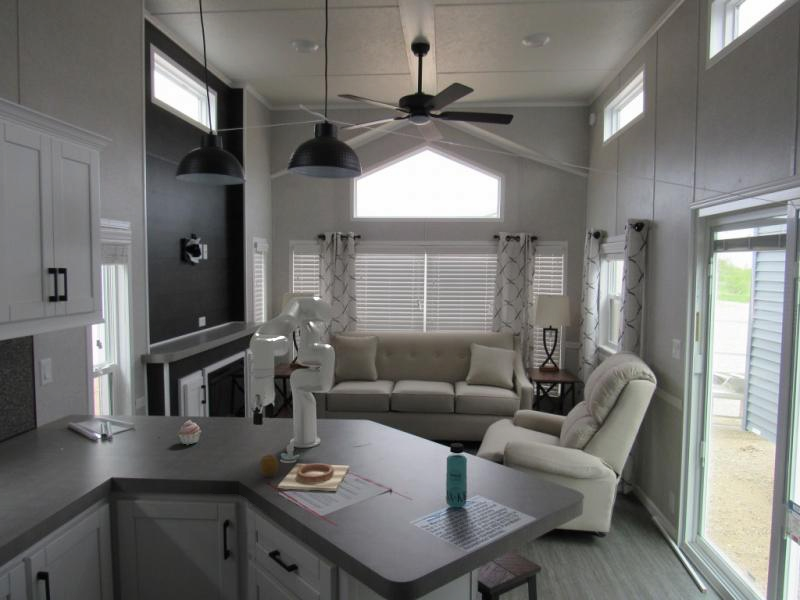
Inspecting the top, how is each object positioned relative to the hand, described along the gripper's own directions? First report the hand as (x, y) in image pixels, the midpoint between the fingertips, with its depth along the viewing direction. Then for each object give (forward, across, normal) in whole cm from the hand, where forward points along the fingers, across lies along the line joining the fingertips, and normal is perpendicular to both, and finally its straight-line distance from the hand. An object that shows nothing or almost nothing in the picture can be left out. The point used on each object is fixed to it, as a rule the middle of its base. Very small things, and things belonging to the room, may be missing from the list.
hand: (264, 420), depth 191 cm
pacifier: (+20, -16, +2) cm, 26 cm away
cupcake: (+20, -28, -47) cm, 59 cm away
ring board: (+20, -1, +18) cm, 27 cm away
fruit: (+20, 0, +2) cm, 20 cm away
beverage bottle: (+21, +13, +69) cm, 73 cm away
